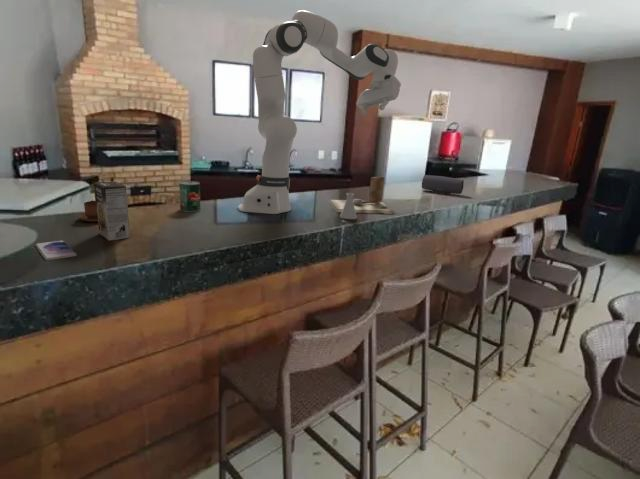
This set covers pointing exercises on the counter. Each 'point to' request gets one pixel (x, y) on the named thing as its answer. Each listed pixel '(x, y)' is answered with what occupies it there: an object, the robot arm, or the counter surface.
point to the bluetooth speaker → (442, 184)
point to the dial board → (363, 207)
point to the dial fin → (373, 192)
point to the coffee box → (112, 210)
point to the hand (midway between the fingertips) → (372, 111)
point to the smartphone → (55, 250)
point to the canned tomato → (189, 196)
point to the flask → (348, 208)
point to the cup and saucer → (89, 212)
